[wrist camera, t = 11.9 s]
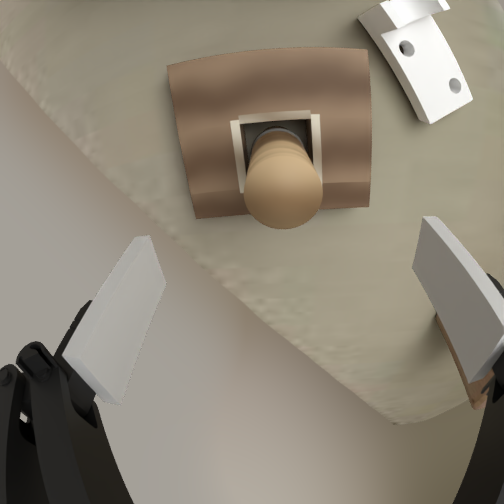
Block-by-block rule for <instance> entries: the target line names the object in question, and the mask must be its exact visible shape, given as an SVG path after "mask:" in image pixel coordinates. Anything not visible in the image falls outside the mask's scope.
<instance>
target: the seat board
mask: <svg viewBox="0 0 504 504" xmlns="http://www.w3.org/2000/svg"><path fill="white" fill-rule="evenodd" d="M167 71H168V77H169V84H170V90H171V96H172V102H173V107H174V113H175V119H176V124H177V129H178V135H179V140H180V145H181V150H182V155H183V160H184V165H185V170H186V175H187V180H188V184H189V189H190V194H191V198H192V203H193V207H194V212H195V216H196V219H201V218H211V217H222V216H234V215H245V214H251V213H250V212H249V211H248V209H247V207H246V204H245V200H244V185H245V181H246V176H247V172H248V167H249V161H248V153H247V145H246V137H245V129H244V124H245V123H254V122H265V121H278V120H294V119H306V130H307V146H308V156H309V158H310V160H311V162H312V164H313V166H314V168H315V170H316V172H317V174H318V176H319V178H320V180H321V183H322V188H323V197H322V202H321V205H320V207H319V209H335V208H357V207H369V199H370V182H371V153H372V116H371V88H370V72H369V60H368V50H366V49H353V48H333V47H297V48H276V49H263V50H253V51H244V52H236V53H229V54H222V55H216V56H210V57H205V58H199V59H194V60H190V61H185V62H180V63H176V64H172V65H168V66H167Z"/></svg>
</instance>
